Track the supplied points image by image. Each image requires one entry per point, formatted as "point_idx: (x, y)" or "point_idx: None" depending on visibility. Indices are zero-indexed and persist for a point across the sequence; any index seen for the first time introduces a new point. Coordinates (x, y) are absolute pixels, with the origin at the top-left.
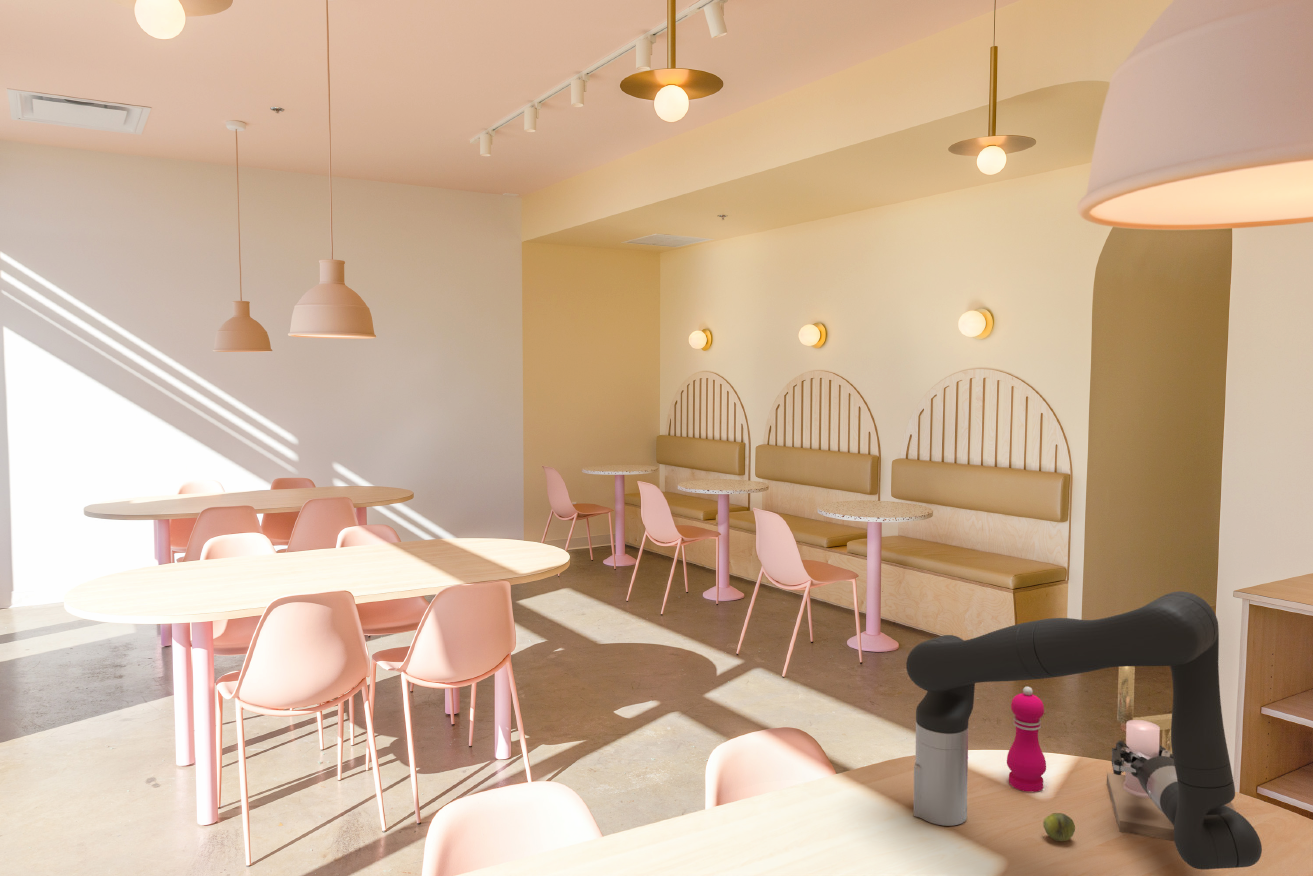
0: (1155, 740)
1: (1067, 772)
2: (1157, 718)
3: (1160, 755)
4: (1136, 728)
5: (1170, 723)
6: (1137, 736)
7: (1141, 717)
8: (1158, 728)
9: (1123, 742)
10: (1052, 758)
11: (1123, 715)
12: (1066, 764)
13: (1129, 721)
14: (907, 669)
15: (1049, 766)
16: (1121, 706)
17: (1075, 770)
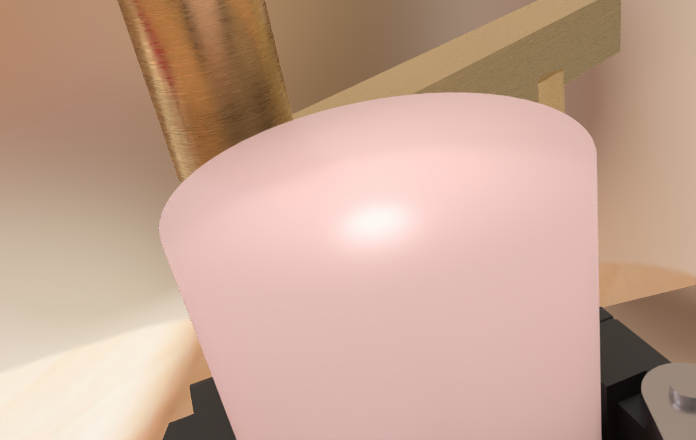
0: (580, 341)
1: (153, 422)
2: (458, 58)
3: (611, 432)
4: (274, 274)
5: (531, 67)
6: (321, 397)
7: (359, 87)
8: (576, 139)
9: (225, 412)
10: (122, 356)
11: (192, 116)
12: (163, 369)
13: (214, 167)
14: None
15: (92, 414)
16: (145, 30)
17: (188, 392)
